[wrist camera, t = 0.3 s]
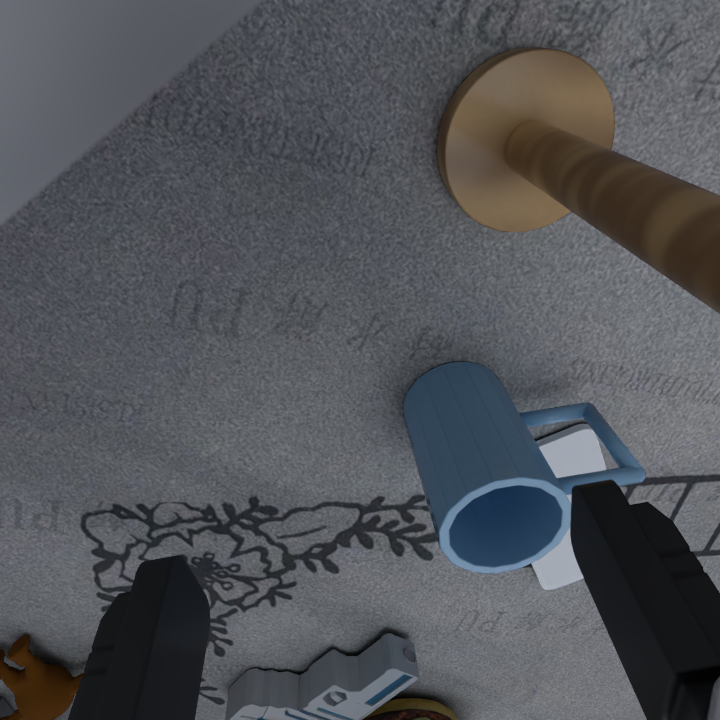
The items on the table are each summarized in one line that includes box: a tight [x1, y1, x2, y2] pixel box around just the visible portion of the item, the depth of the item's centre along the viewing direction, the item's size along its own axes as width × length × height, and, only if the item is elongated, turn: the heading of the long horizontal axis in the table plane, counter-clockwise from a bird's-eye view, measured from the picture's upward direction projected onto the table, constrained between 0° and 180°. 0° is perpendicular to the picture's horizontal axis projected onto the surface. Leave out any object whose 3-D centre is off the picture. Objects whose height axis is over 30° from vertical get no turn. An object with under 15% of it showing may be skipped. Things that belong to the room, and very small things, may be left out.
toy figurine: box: [0, 635, 85, 720], centre depth 42 cm, size 12×4×7 cm
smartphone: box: [531, 424, 606, 590], centre depth 41 cm, size 7×1×15 cm
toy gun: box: [225, 633, 419, 720], centre depth 47 cm, size 3×14×10 cm
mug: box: [403, 362, 646, 574], centre depth 31 cm, size 11×6×10 cm, turn 96°
